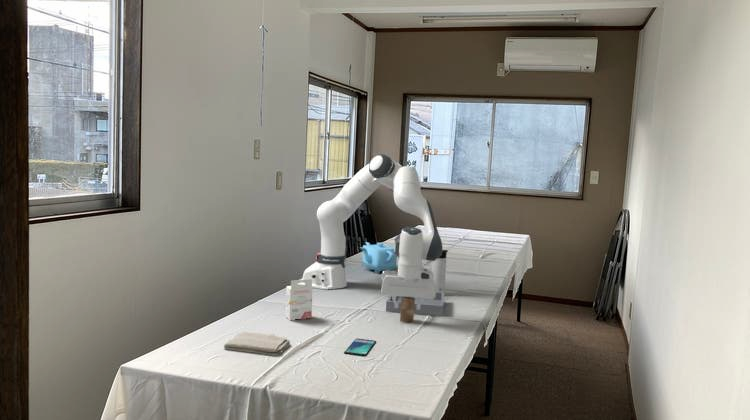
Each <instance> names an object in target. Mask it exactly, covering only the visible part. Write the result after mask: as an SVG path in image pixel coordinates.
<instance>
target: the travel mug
mask: <svg viewBox="0 0 750 420" xmlns="http://www.w3.org/2000/svg"><path fill="white" fill-rule="evenodd" d="M447 253H448V249H443V250H442V255H441V256H440V257H439V258H438V259H436V260H435V261H431V269H430V271H432V272H433V274H434V276H433V279H434V281H435V286H436V292H442V293H444V294H445V288H446V287H445V286H446V285H445V284H446V270H447V269H446V268H447Z"/></svg>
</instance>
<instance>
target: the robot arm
mask: <svg viewBox="0 0 750 420" xmlns="http://www.w3.org/2000/svg"><path fill="white" fill-rule="evenodd" d="M381 185H383V186H385V187H387V188H388V189H389V190H391V191H392V192H393V200H394V204H395V206H396V207H397V208H398V209H399V210H401V211H403V212H404V213H407V214H410V215H412V216H416V217H418V219H420V220H421V221H422V222H423V226H424V228H425V233H426V234H424V233H423V230H422V229H420V228H418V227H415V226H414V227H413V226H407V227H404V228H402V230H401V233H399V235H397V236H395V237H394V245H393V247H394V253H395V254H396V255H397V258H399V259H398V261H397V263H398V264H397V270H386V271H385V270H383V271H381V272H382V273H381V274H380V275H381V276H380V279H381V282H382V283H381V287H380V288H381V290H380V293H381V295H383V296H388V297H389V296H392V299H393V301H394V303H395V308H399V302H397V301H396V296H401V297H412V298H420V301H421V302H420V303H419V304H417V306H416V307H417V308H416V310H420V308H421V304H422V303H423V302H424V299H434V298H435V297H436V286H435V281H434V279H433V276H434V274H433V272H432V271H431V269H427V268H425V267H423V261H431V262H432V261H435V260H436V259H438V258H439V257H440V256H441V255H442V250H444V249H443V247H444V246H443V242H442V239H441V235H440V233H439V230H438V228H437V227H438V226H437V224H436V219H435V215H434V211H433V207H432V205H431V203H430V201H429V200H427V199H425V197H424V195H423V194H422V192H421V182H420V177H419V173H418V171H417V170H416V169H415V168H414V167H412V166H409V165H406V166H403V165H401V164H400V163H398V162H397V161H395V160H394V159H392V158H391V157H390V156H388V155H386V154H383V153H379V154H376V155H375V156H373V157H372V158H371V160H370V161H369V163H368V164H366V165H364V167H363V168H361V169H359V171H358V172H356V173H355V175H353V176H352V177H351V178H350V180H348V181H347V182H346V183H345V184H344V185H343V187H342V189H341V190H340V191H339V192H338V194H337V195H336V196H335V197H334V198H333V199H331V200H327V201H325V202H323V203H321V205H319V207H318V209H317V211H316V218H317V220H318V222H319V223H318V224H319V229H320V238H321V239H320V252H318V253H317V254H316V257H315V262H314V263H312V264H311V265H310V266H308V267H307V268H305V269H304V271H303V275H302V278H300V279H299V280H308V279H312V289H321V290H328V289H329V290H334V289H335V290H336V289H343V288H346V287H347V286H348V283H347V278H346V277H347V276H346V266H347V255H346V242H347V238H346V235H345V231H344V230H345V229H344V222H346V221H348V219H349V218H350V217H351V216H352V215H353V214H354V213H355V212H356V211H357V210H358V208H359V207H360V206H361V205H362V203H363V202H365V201H366V200H367V199H368V198H369V197H370V196H371V195H372V194H373V193H374V192H375V191H376V190H377V189H378V188H379V187H380V186H381ZM298 285H305V283H302V282H301V283H298ZM329 290H328V291H329Z"/></svg>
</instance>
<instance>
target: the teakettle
mask: <svg viewBox="0 0 750 420" xmlns="http://www.w3.org/2000/svg"><path fill="white" fill-rule="evenodd" d="M359 249H361V250H362V257H361V259H362V260H361V266H362V267H364V268H366V271H369V272H371V271H373V273H374V274H380V273H381V272H384V271H386V270H390V271H396V270H397V263H398V256H397V255H396V254H395V253H394V246H389V245H385V244H384V242H376V244H371V243H370V242H367V241H365V245H362V247H361V246H360V247H359Z"/></svg>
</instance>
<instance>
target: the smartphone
mask: <svg viewBox="0 0 750 420" xmlns="http://www.w3.org/2000/svg"><path fill="white" fill-rule="evenodd" d="M376 344H377V341H376V340H374V339H366V338H355V339H354V340H353V341H352V343H351V344H349V346H348V347H347V348H346V349H345V351H344V352H343V354H345V355H348V354H349V355H350V356H355V357H367V356H368V354H369V353H370V351H371V350H372V349H373V347H374V346H375V345H376ZM349 355H348V356H349Z"/></svg>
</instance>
